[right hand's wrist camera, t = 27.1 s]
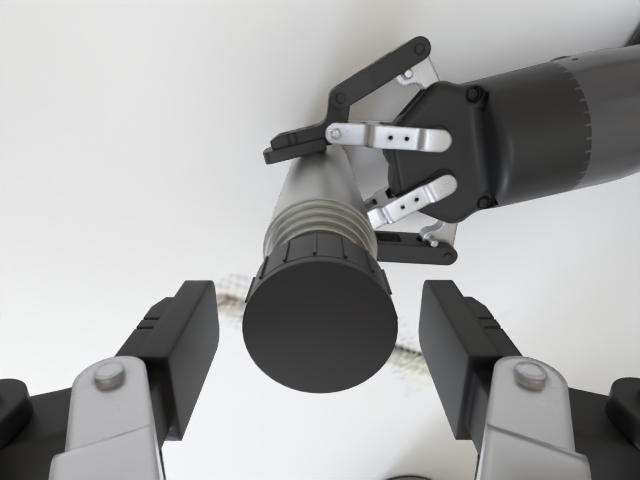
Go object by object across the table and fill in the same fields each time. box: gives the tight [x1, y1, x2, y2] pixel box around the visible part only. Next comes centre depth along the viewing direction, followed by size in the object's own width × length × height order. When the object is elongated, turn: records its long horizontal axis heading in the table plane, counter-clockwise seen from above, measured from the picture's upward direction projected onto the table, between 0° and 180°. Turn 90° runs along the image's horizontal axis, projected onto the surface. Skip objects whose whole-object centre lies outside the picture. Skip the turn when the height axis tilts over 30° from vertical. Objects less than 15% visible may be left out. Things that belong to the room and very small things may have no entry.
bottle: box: [263, 144, 377, 261], centre depth 21 cm, size 4×4×22 cm
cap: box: [242, 233, 398, 393], centre depth 11 cm, size 4×4×2 cm
